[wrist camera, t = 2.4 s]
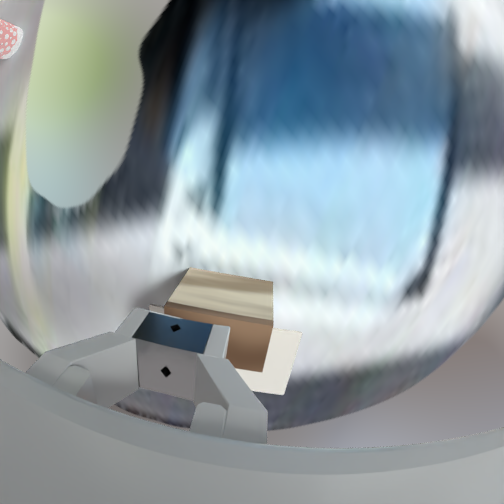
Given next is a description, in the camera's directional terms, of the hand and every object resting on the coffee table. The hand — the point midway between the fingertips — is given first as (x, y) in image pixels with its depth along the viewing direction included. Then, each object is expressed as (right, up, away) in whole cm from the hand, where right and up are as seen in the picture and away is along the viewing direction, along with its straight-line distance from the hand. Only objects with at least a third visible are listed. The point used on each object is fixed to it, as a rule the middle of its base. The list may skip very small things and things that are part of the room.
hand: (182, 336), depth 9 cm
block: (0, -2, +21) cm, 21 cm away
